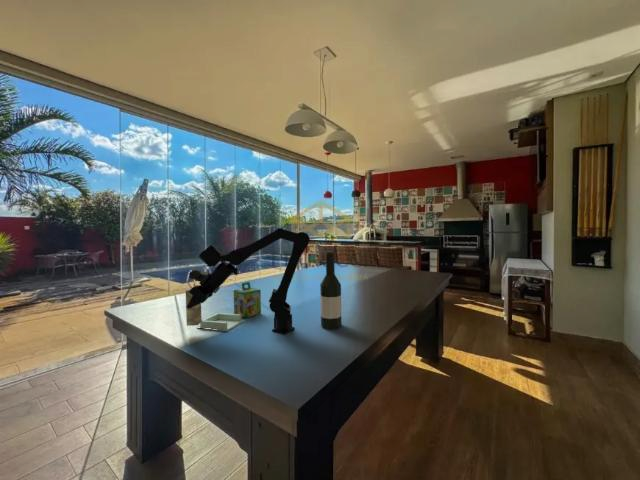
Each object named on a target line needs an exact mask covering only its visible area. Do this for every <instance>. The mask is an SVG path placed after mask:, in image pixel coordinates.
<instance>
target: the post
mask: <svg viewBox="0 0 640 480" xmlns="http://www.w3.org/2000/svg"><path fill="white" fill-rule="evenodd" d="M191 288H192V287H190V288H187V289H186V290H185V312H186V313H185V315H186V318H185V319H186V326H187V327H189V326H200V323H201V322H202V320H203V319H202V318H203V317H202V303H200V304H198V305H196V306H194V307H192V308H189V309H188V308H187V305H188V303H189V302H190V300H191V298H192V295H191V294H190V293H189V291H190V289H191Z"/></svg>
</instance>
